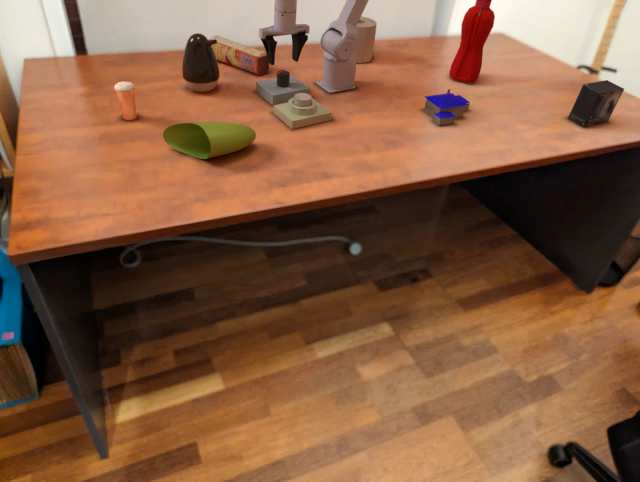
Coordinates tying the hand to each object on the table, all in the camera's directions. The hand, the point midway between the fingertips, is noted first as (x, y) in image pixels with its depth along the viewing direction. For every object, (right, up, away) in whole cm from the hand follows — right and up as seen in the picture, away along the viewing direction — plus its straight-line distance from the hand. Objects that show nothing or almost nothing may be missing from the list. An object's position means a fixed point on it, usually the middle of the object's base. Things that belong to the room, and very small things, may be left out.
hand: (283, 62), depth 136 cm
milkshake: (-38, -18, -10) cm, 43 cm away
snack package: (-16, +6, +21) cm, 27 cm away
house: (+45, -13, +5) cm, 47 cm away
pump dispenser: (-24, -6, +6) cm, 25 cm away
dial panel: (-1, -7, +6) cm, 10 cm away
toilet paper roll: (+22, +14, +34) cm, 43 cm away
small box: (+88, -14, +8) cm, 90 cm away
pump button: (+5, -13, -6) cm, 15 cm away
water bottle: (+57, +3, +25) cm, 62 cm away
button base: (+5, -16, -3) cm, 17 cm away
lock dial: (0, -5, +4) cm, 6 cm away
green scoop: (-15, -28, -20) cm, 38 cm away
